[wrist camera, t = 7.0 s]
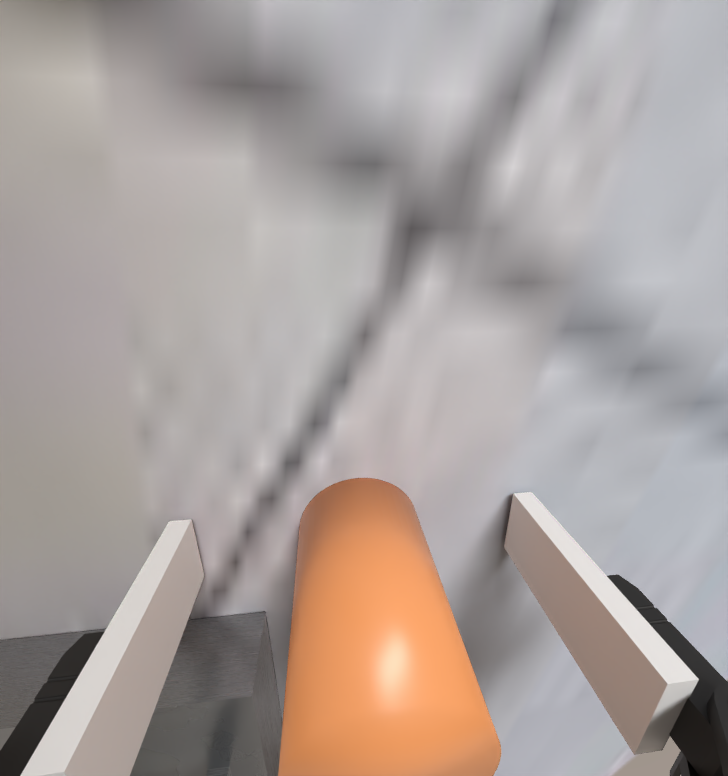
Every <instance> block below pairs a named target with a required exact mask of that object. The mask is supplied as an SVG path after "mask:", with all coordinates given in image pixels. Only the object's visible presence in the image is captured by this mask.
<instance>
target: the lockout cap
mask: <svg viewBox="0 0 728 776" xmlns="http://www.w3.org/2000/svg"><path fill="white" fill-rule="evenodd" d="M500 757H501V745H500V742H499V739H498V736H497V734H496V731H495V728H494V725H493V723H492V720H491V717H490V714H489V712H488V709H487V706H486V703H485V701H484V698H483V695H482V693H481V690H480V687H479V684H478V682H477V679H476V676H475V673H474V671H473V668H472V665H471V662H470V660H469V657H468V654H467V651H466V649H465V646H464V643H463V640H462V638H461V635H460V632H459V629H458V627H457V624H456V621H455V618H454V616H453V613H452V610H451V607H450V605H449V602H448V599H447V596H446V594H445V591H444V588H443V586H442V583H441V580H440V577H439V575H438V572H437V569H436V566H435V564H434V561H433V558H432V555H431V553H430V550H429V547H428V544H427V542H426V539H425V536H424V533H423V531H422V528H421V525H420V522H419V520H418V517H417V514H416V511H415V509H414V506H413V504H412V502H411V500H410V499H409V498H408V496H407V495H406V494H405V493H404V492H403V491H402V490H400V489H399V488H398V487H396V486H394V485H392V484H390V483H388V482H385V481H382V480H378V479H372V478H355V479H349V480H344V481H341V482H338V483H335V484H333V485H331V486H329V487H327V488H326V489H324V490H322V491H321V492H320V493H318V494H317V495H316V496H315V497H314V498H313V499H312V500H311V501H310V502H309V504H308V505H307V507H306V508H305V510H304V512H303V514H302V517H301V521H300V527H299V539H298V550H297V562H296V574H295V585H294V597H293V608H292V620H291V632H290V643H289V655H288V666H287V678H286V690H285V701H284V713H283V724H282V736H281V748H280V759H279V771H278V776H493V775H494V773H495V771H496V769H497V768H498V765H499V762H500Z"/></svg>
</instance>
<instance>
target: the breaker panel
mask: <svg viewBox="0 0 728 776" xmlns="http://www.w3.org/2000/svg"><path fill="white" fill-rule="evenodd" d="M105 630H106V629H102V630H93V631H83V632H74V633H65V634H56V635H46V636H37V637H28V638H19V639H10V640H0V750H1V749H2V747H3V746H4V744H5V743H6V741H7V740H8V738H9V736H10V735H11V733H12V732H13V730H14V729H15V727H16V726H17V724H18V723H19V721H20V720H21V718H22V717H23V715H24V714H25V712H26V711H27V709H28V708H29V706H30V704H33V702H34V698H35V697H36V695H37V694H38V692H39V691H40V689H41V688H42V686H43V685H44V683H46V682H47V680H48V677H49V676H50V674H51V672H52V671H53V669H54V668H55V666H56V665H57V663H58V662H59V660H60V659H61V657H62V656H63V654H64V653H65V652H66V651H67V650H68V649H69V648H70V647H71V646H72V645H73V644H75V643H76V642H77V641H78V640H79V639H80V638H81V637H82V636H83V635H84V634H86V633H95V632H104V631H105ZM281 736H282V717H281V711H280V704H279V698H278V691H277V684H276V678H275V671H274V665H273V658H272V652H271V645H270V638H269V632H268V625H267V619H266V612H259V613H250V614H240V615H231V616H222V617H213V618H203V619H194V620H188V621H187V624H186V627H185V629H184V632H183V635H182V637H181V640H180V643H179V645H178V648H177V651H176V653H175V656H174V659H173V661H172V664H171V667H170V669H169V672H168V675H167V677H166V680H165V683H164V685H163V688H162V691H161V694H160V696H159V699H158V702H157V704H156V707H155V710H154V712H153V715H152V718H151V720H150V723H149V726H148V728H147V731H146V734H145V736H144V739H143V742H142V744H141V747H140V750H139V752H138V755H137V758H136V760H135V763H134V766H133V768H132V771H131V774H130V776H278V771H279V759H280V748H281Z"/></svg>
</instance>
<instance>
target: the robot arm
mask: <svg viewBox="0 0 728 776" xmlns="http://www.w3.org/2000/svg"><path fill="white" fill-rule="evenodd" d="M504 548H505V549H506V551H507V553H508V554H509V556H510V557H511V559H512V561H513V562H514V564H515V565H516V567H517V569H518V570H519V572H520V573H521V575H522V576H523V578H524V580H525V581H526V583H527V584H528V586H529V588H530V589H531V591H532V592H533V594H534V596H535V597H536V599H537V600H538V602H539V604H540V605H541V607H542V608H543V610H544V612H545V613H546V615H547V616H548V618H549V620H550V621H551V623H552V624H553V626H554V627H555V629H556V631H557V632H558V634H559V635H560V637H561V639H562V640H563V642H564V643H565V645H566V647H567V648H568V650H569V651H570V653H571V655H572V656H573V658H574V659H575V661H576V663H577V664H578V666H579V667H580V669H581V671H582V672H583V674H584V675H585V677H586V678H587V680H588V682H589V683H590V685H591V686H592V688H593V690H594V691H595V693H596V694H597V696H598V698H599V699H600V701H601V702H602V704H603V706H604V707H605V709H606V710H607V712H608V714H609V715H610V717H611V718H612V720H613V722H614V723H615V725H616V726H617V728H618V729H619V731H620V733H621V734H622V736H623V737H624V739H625V741H626V742H627V744H628V745H629V747H630V749H631V750H632V752H633V753H634V755H636V754H642V753H648V752H654V751H660V750H663V748H664V746H665V744H666V742H667V740H668V738H669V736H671V738H672V739H673V740H674V742H675V743H676V745H677V746H678V747H679V749H680V750H681V752H680V754H679V756H678V757H677V759H676V761H675V763H674V764H673V766H672V768H671V770H670V776H680V775H681V776H728V682H727V681H726V680H725V679H724V678H723V677H722V676H721V675H720V674H719V673H718V672H717V671H716V670H715V669H714V668H713V667H712V666H711V665H710V663H709V662H708V661H707V660H706V659H705V658H704V657H703V656H702V655H701V654H700V653H699V652H698V651H697V650H696V649H695V648H694V647H693V646H692V645H691V644H690V643H689V641H688V640H687V639H686V638H685V637H684V636H683V635H682V634H681V633H680V632H679V631H678V630H677V629H676V628H675V627H674V626H673V625H672V624H671V623H670V622H668V621H667V618H666V617H665V616H664V615H663V614H662V613H661V612H660V611H659V610H658V609H657V608H654V606H653V604H652V603H651V602H650V601H649V600H648V599H647V598H646V596H645V595H644V594H643V593H642V592H641V591H640V590H639V589H638V588H637V587H635V586H634V585H632V584H631V583H629V582H628V581H627V580H625V579H624V578H622V577H621V576H619V575H610V576H606V575H605V574H604V573H603V571H602V570H601V569H600V568H599V567H598V566H597V565H596V564H595V563H594V561H593V560H592V559H591V558H590V557H589V556H588V555H587V554H586V552H585V551H584V550H583V549H582V548H581V547H580V546H579V545H578V544H577V542H576V541H575V540H574V539H573V538H572V537H571V536H570V535H569V533H568V532H567V531H566V530H565V529H564V528H563V527H562V526H561V524H560V523H559V522H558V521H557V520H556V519H555V518H554V517H553V516H552V514H551V513H550V512H549V511H548V510H547V509H546V508H545V507H544V505H543V504H542V503H541V502H540V501H539V500H538V499H537V498H536V497H535V495H534V494H533V493H532V492H526V493H513V498H512V504H511V510H510V516H509V522H508V527H507V533H506V539H505V545H504ZM203 578H204V572H203V568H202V563H201V559H200V554H199V550H198V545H197V541H196V537H195V532H194V528H193V523H192V519H189V520H177V521H169V523H168V524H167V526H166V528H165V529H164V531H163V533H162V535H161V536H160V538H159V540H158V541H157V543H156V545H155V547H154V548H153V550H152V552H151V553H150V555H149V557H148V559H147V560H146V562H145V564H144V565H143V567H142V569H141V570H140V572H139V574H138V576H137V577H136V579H135V581H134V582H133V584H132V586H131V588H130V589H129V591H128V593H127V594H126V596H125V598H124V600H123V601H122V603H121V605H120V606H119V608H118V610H117V611H116V613H115V615H114V617H113V618H112V620H111V622H110V623H109V625H108V627H107V629H106V630H105V631H104V632H95V633H86V634H84V635H83V636H82V637H81V638H80V639H79V640H78V641H77V642H76V643H75V644H73V645H72V646H71V647H70V648H69V649H68V650H67V651H66V652H65V653H64V654H63V656H62V657H61V659H60V660H59V662H58V663H57V665H56V666H55V668H54V669H53V671H52V672H51V674H50V676H49V677H48V680H47V682H46V683H44V685H43V686H42V688H41V689H40V691H39V692H38V694H37V695H36V697H35V698H34V702H33V704H30V706H29V708H28V709H27V711H26V712H25V714H24V715H23V717H22V718H21V720H20V721H19V723H18V724H17V726H16V727H15V729H14V730H13V732H12V733H11V735H10V736H9V738H8V740H7V741H6V743H5V744H4V746H3V747H2V749H1V750H0V776H130V774H131V771H132V768H133V766H134V763H135V760H136V758H137V755H138V752H139V750H140V747H141V744H142V742H143V739H144V736H145V734H146V731H147V728H148V726H149V723H150V720H151V718H152V715H153V712H154V710H155V707H156V704H157V702H158V699H159V696H160V694H161V691H162V688H163V685H164V683H165V680H166V677H167V675H168V672H169V669H170V667H171V664H172V661H173V659H174V656H175V653H176V651H177V648H178V645H179V643H180V640H181V637H182V635H183V632H184V629H185V627H186V624H187V621H188V619H189V616H190V613H191V611H192V608H193V605H194V603H195V600H196V597H197V594H198V592H199V589H200V586H201V584H202V581H203Z"/></svg>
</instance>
